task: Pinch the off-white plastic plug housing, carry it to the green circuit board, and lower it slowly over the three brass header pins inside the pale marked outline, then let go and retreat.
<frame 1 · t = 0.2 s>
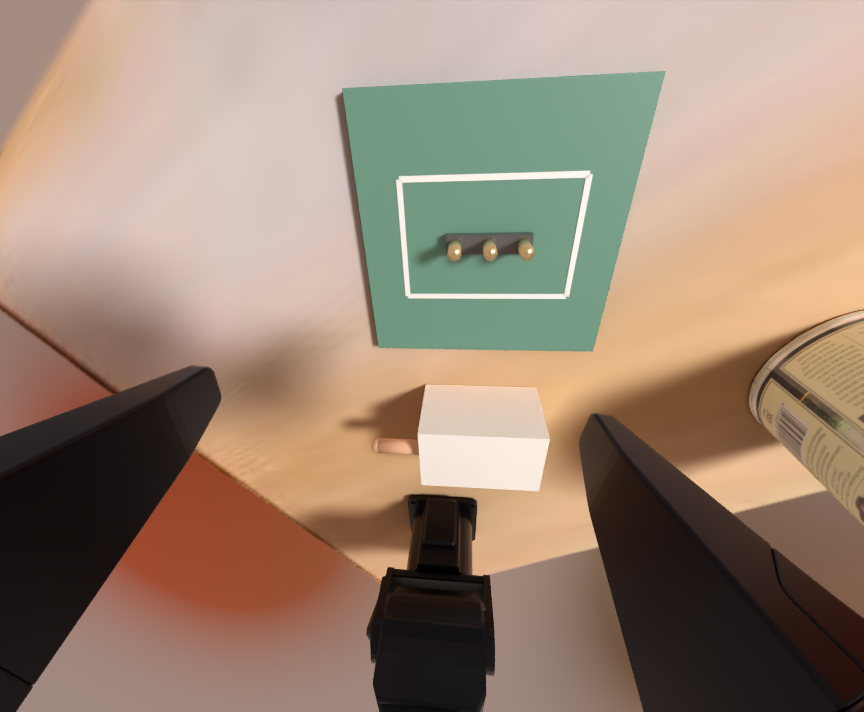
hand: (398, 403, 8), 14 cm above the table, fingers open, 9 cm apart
pin board: (487, 239, 20), on the table
coffee can: (837, 374, 23), on the table
plug housing: (478, 411, 27), on the table
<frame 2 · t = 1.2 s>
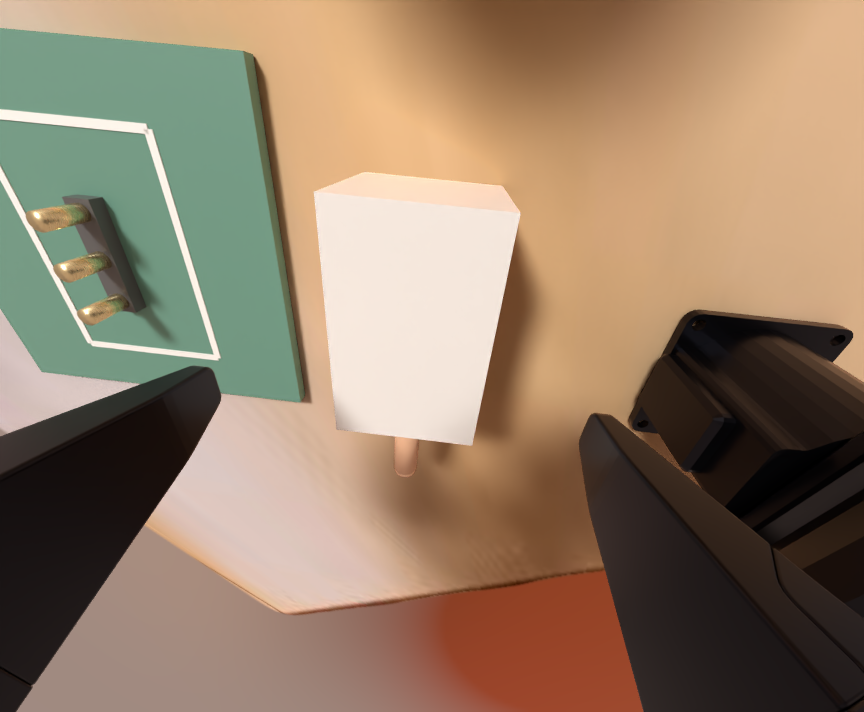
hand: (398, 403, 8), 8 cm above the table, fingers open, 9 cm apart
pin board: (126, 251, 15), on the table
plug housing: (425, 283, 15), on the table
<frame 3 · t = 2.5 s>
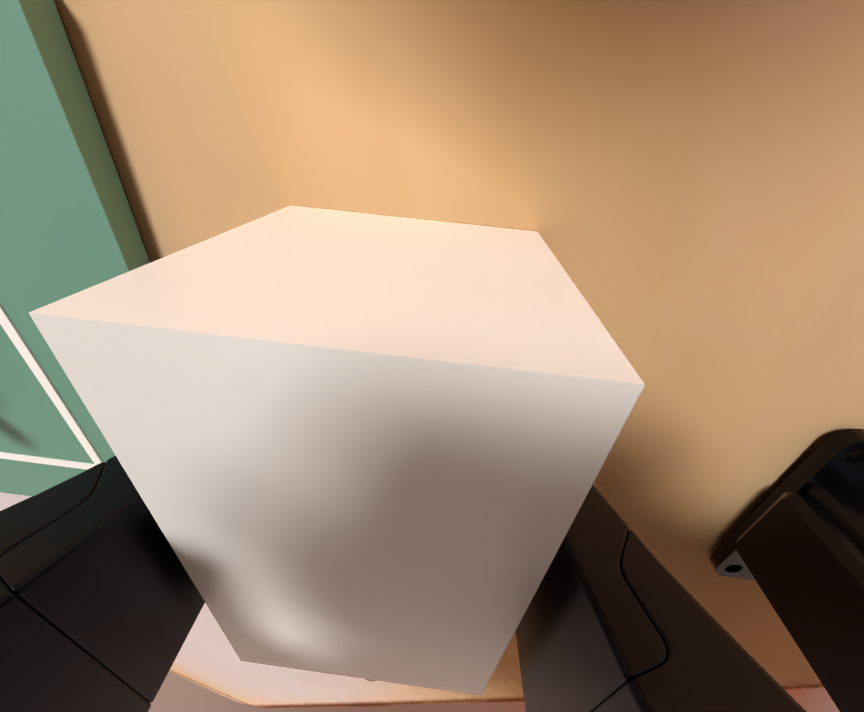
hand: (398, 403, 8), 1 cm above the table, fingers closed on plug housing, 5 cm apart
plug housing: (404, 378, 9), on the table, touching gripper
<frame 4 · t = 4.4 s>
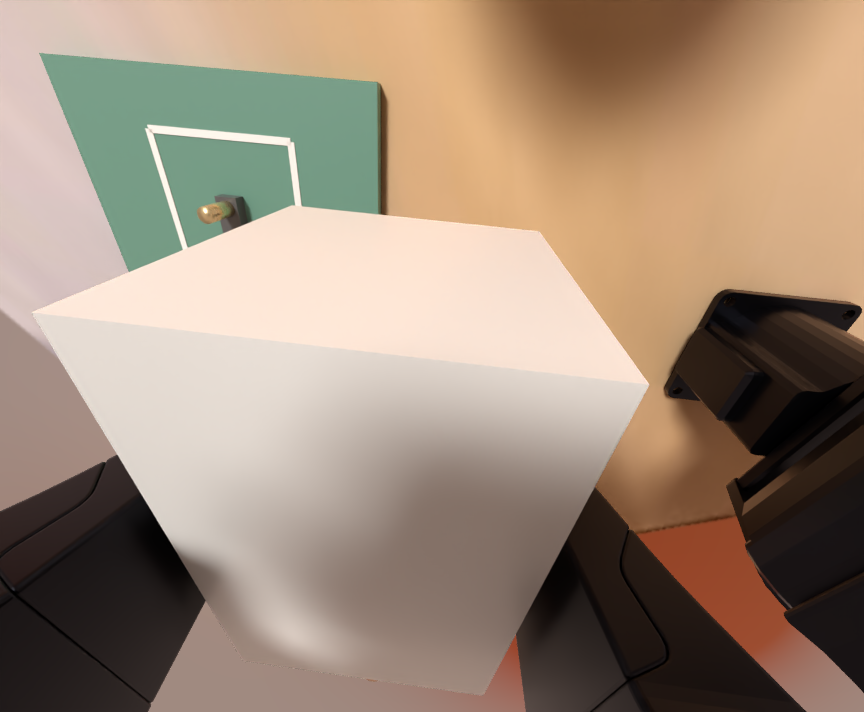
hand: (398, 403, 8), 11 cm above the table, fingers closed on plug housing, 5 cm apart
pin board: (249, 241, 18), on the table
plug housing: (405, 377, 9), point 10 cm above the table, touching gripper
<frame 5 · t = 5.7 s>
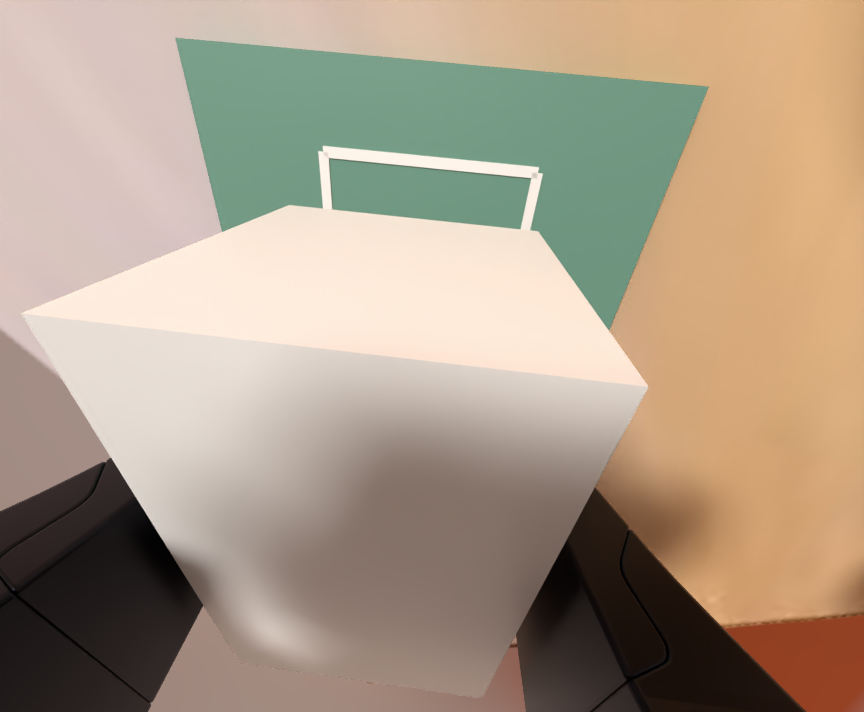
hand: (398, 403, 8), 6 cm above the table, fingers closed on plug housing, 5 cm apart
pin board: (421, 300, 13), on the table
plug housing: (404, 378, 9), point 5 cm above the table, touching gripper
when the fingers open (2 cm above the table, at t = 6.8 s): plug housing stays where it is, resting on pin board.
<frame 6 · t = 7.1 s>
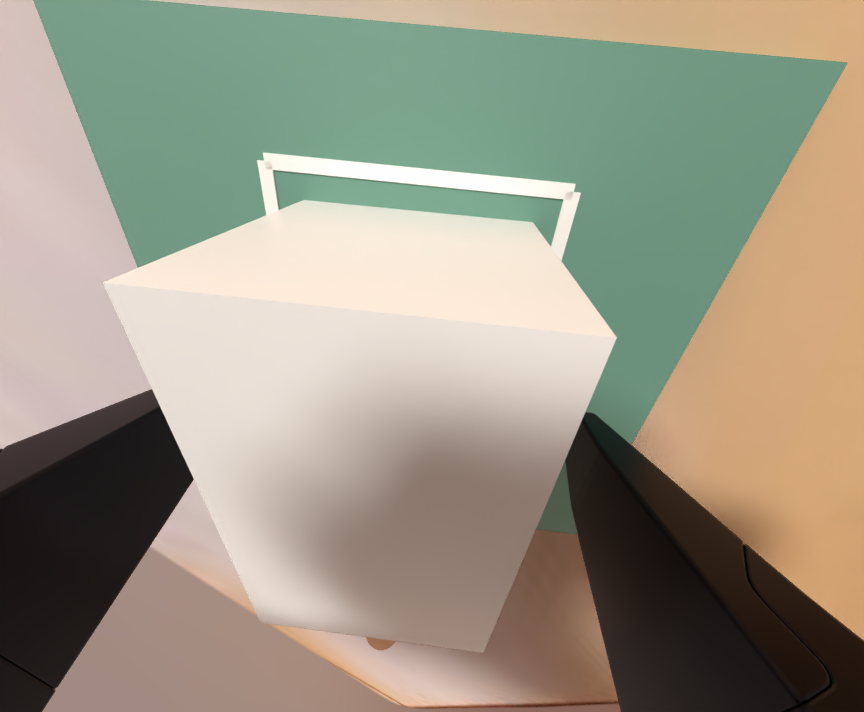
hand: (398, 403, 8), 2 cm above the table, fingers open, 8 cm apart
pin board: (410, 352, 10), on the table
plug housing: (409, 363, 10), point 1 cm above the table, touching pin board
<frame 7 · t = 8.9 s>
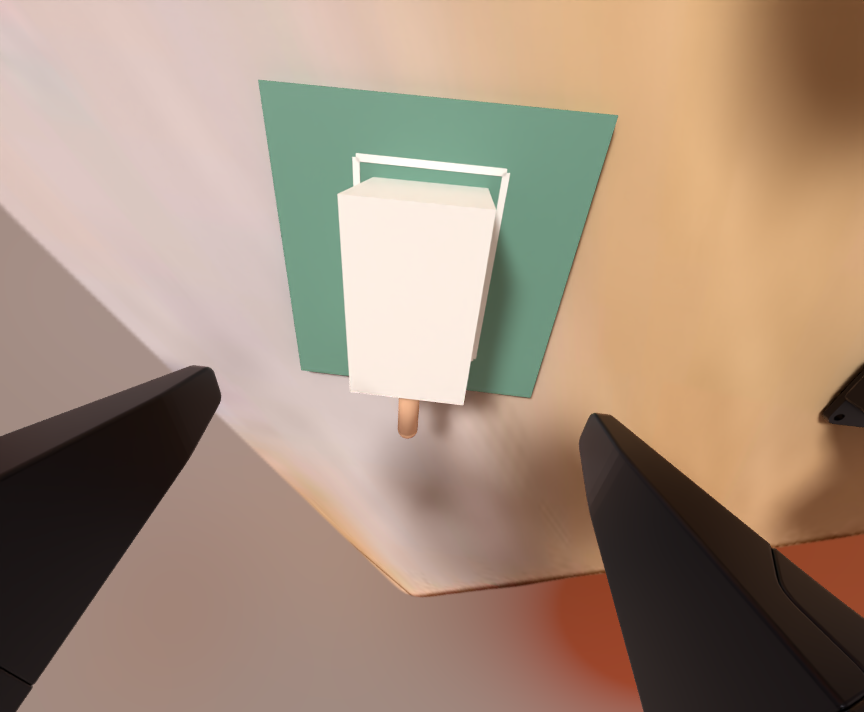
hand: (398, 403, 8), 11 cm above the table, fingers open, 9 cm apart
pin board: (424, 268, 18), on the table
plug housing: (424, 271, 17), point 1 cm above the table, touching pin board
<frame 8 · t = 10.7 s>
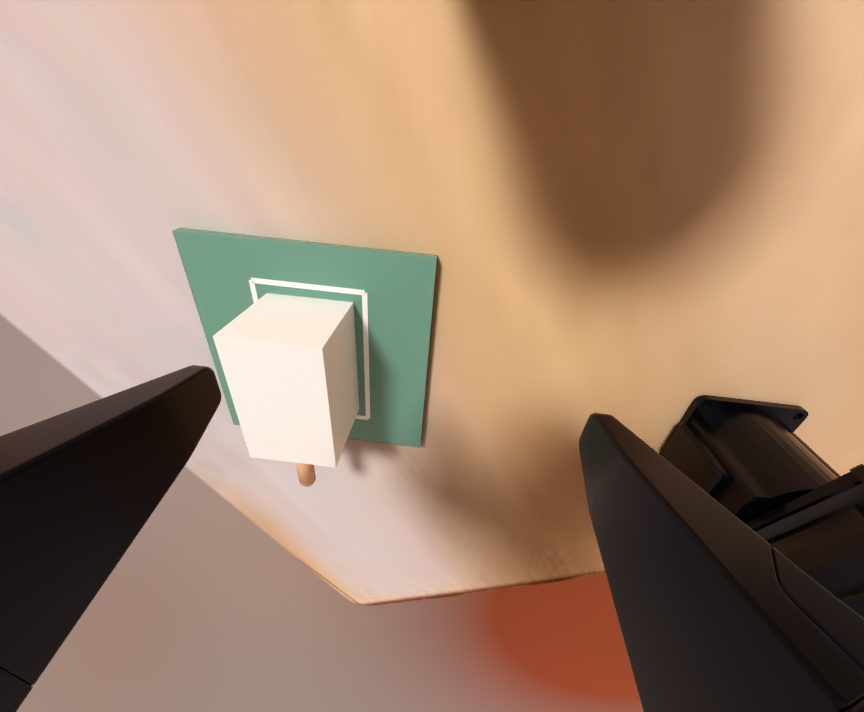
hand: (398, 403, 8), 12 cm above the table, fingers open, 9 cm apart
pin board: (319, 351, 22), on the table
plug housing: (317, 356, 22), point 1 cm above the table, touching pin board
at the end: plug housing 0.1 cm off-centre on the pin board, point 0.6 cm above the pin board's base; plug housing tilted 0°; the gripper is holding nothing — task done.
